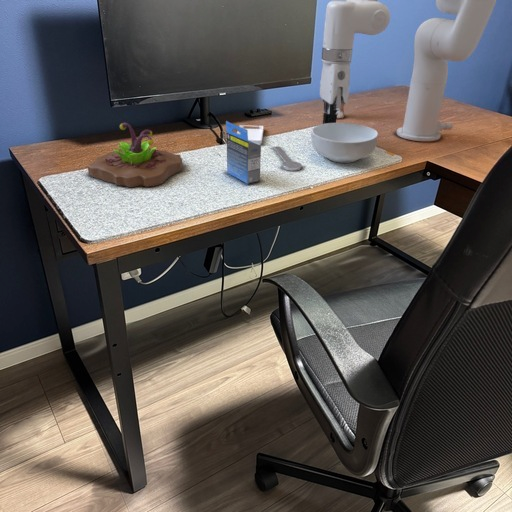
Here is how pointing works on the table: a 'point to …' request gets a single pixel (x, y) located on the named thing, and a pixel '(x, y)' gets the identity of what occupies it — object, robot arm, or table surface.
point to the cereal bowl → (344, 141)
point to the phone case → (254, 134)
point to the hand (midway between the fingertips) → (328, 127)
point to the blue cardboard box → (242, 155)
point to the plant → (136, 163)
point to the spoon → (287, 161)
